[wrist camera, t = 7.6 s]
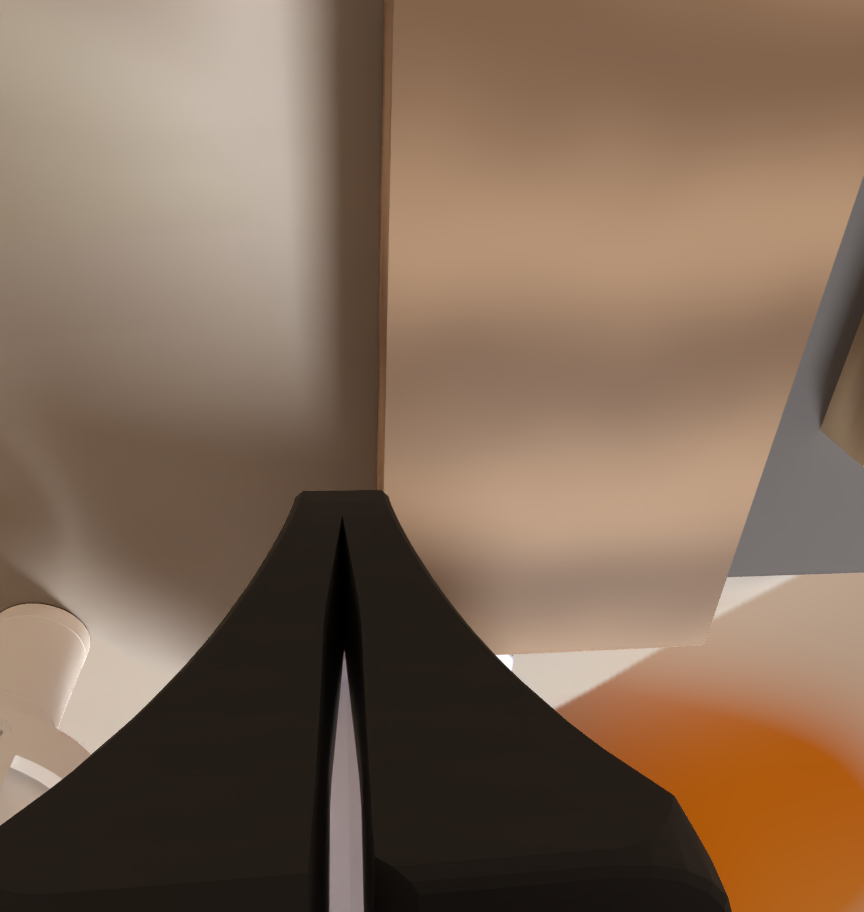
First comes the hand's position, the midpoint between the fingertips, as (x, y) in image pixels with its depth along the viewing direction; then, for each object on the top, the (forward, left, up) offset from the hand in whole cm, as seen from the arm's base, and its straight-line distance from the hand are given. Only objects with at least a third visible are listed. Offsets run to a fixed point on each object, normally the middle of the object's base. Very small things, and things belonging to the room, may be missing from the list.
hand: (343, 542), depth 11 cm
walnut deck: (0, -6, -9) cm, 11 cm away
